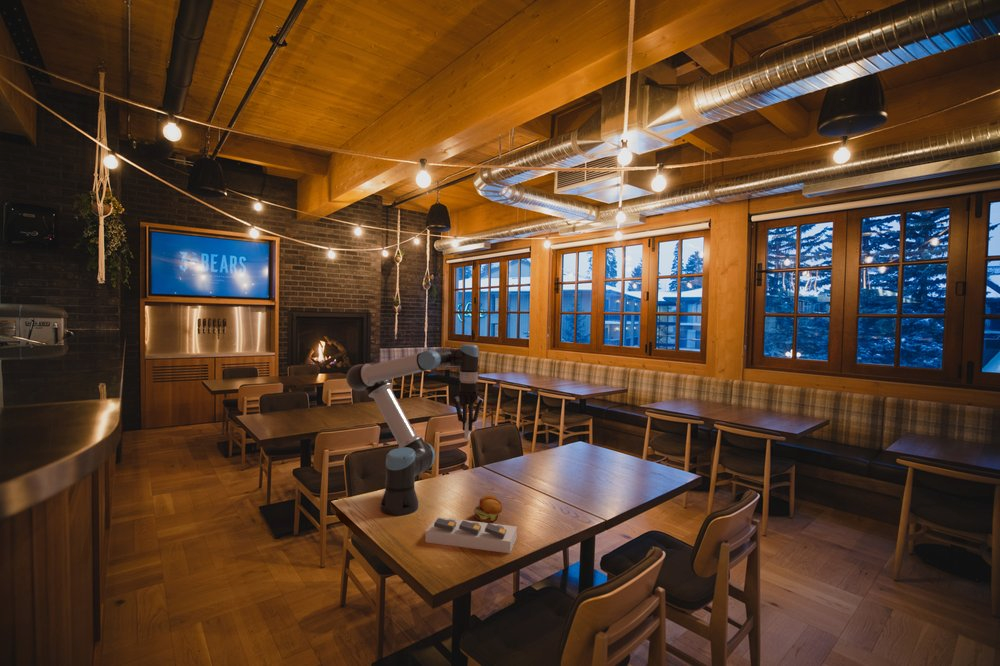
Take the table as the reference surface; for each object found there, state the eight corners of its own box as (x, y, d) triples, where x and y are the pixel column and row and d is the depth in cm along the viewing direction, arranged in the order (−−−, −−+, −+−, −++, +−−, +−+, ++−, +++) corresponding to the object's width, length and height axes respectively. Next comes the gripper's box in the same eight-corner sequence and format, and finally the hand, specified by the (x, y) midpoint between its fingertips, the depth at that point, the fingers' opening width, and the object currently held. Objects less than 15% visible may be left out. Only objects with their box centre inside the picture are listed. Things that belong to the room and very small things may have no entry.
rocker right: (484, 531, 160) (485, 527, 160) (487, 526, 164) (488, 522, 164) (503, 538, 159) (504, 534, 159) (505, 533, 163) (506, 529, 162)
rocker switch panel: (425, 542, 164) (425, 530, 164) (437, 527, 175) (437, 516, 175) (510, 553, 157) (510, 541, 157) (516, 537, 169) (516, 526, 169)
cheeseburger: (484, 509, 193) (490, 487, 191) (504, 523, 186) (509, 500, 185) (467, 517, 185) (473, 494, 183) (487, 531, 178) (493, 507, 177)
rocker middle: (458, 529, 162) (459, 524, 162) (462, 524, 166) (463, 520, 166) (477, 534, 161) (478, 530, 161) (480, 529, 165) (481, 525, 164)
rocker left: (433, 526, 164) (434, 522, 164) (437, 521, 168) (438, 517, 168) (452, 530, 163) (453, 526, 162) (456, 526, 166) (456, 522, 166)
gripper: (450, 382, 193) (449, 439, 194) (481, 383, 190) (479, 441, 191) (456, 379, 201) (455, 435, 201) (486, 381, 198) (484, 437, 198)
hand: (467, 438), depth 196 cm, fingers closed
